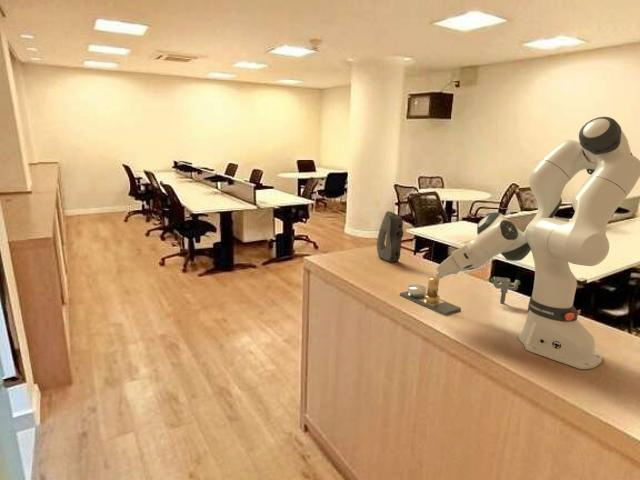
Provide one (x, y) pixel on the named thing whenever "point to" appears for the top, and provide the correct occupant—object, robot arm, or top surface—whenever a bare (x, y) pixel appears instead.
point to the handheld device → (390, 237)
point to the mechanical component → (504, 286)
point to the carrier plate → (417, 296)
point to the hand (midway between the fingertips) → (445, 274)
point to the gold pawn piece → (432, 291)
